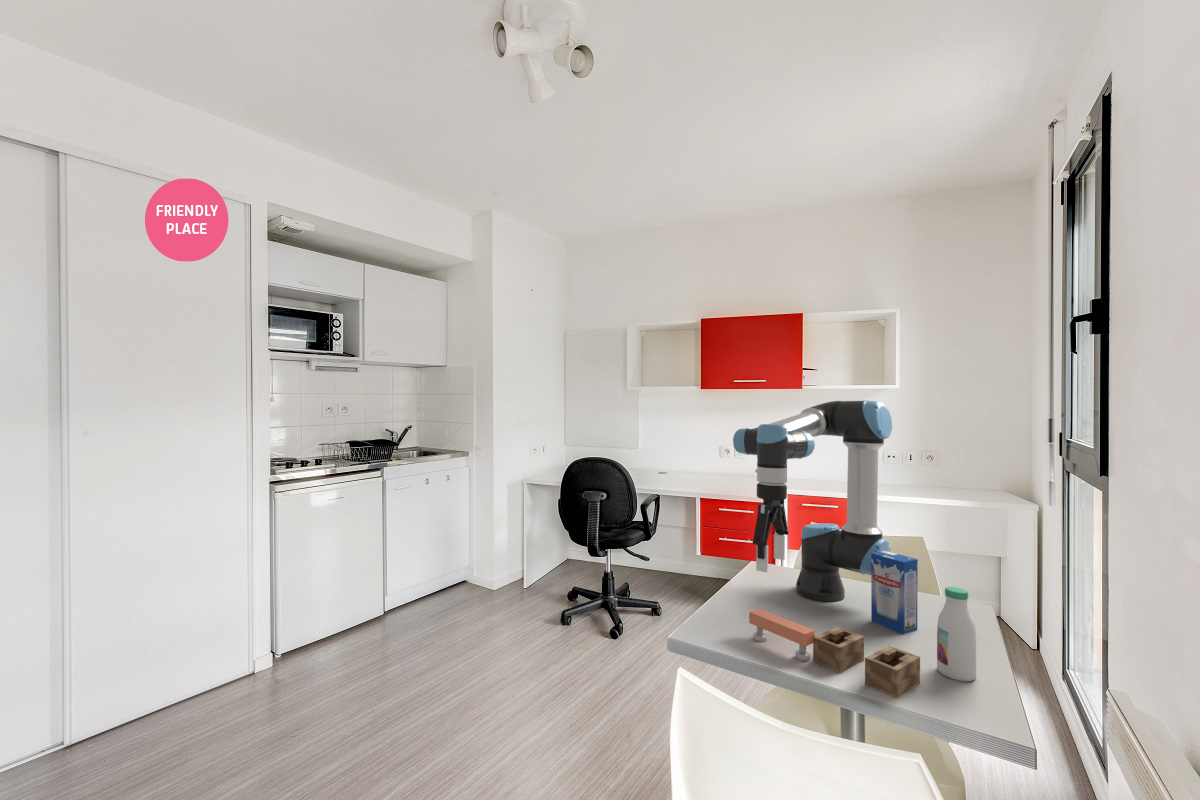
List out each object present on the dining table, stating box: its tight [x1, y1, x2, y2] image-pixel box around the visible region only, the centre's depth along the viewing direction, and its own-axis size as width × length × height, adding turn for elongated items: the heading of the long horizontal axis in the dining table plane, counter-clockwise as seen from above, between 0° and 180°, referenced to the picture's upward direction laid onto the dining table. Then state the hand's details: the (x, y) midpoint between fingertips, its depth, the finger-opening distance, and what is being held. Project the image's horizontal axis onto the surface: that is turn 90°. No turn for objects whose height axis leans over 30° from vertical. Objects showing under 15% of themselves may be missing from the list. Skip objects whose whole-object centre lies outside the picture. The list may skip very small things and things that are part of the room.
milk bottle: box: [936, 586, 977, 682], centre depth 126 cm, size 8×8×20 cm
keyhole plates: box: [812, 626, 921, 699], centre depth 126 cm, size 11×20×6 cm, turn 35°
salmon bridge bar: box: [748, 608, 816, 663], centre depth 138 cm, size 17×4×7 cm, turn 35°
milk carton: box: [870, 551, 919, 635], centre depth 153 cm, size 10×6×20 cm, turn 27°
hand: (771, 564), depth 139 cm, fingers open, 13 cm apart
